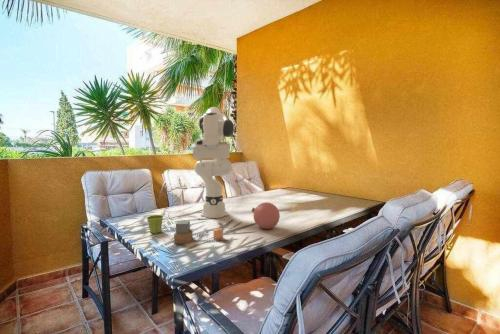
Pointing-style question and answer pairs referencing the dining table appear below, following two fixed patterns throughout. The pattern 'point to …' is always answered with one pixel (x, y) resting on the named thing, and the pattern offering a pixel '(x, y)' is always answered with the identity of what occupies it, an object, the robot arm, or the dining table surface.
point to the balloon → (266, 215)
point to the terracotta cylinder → (218, 233)
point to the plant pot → (155, 223)
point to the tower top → (182, 227)
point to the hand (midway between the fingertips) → (211, 166)
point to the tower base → (183, 237)
